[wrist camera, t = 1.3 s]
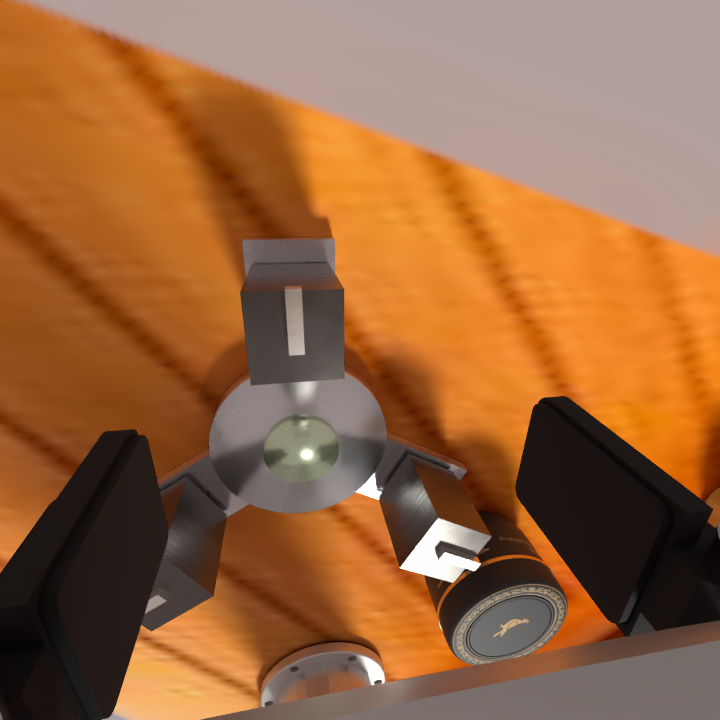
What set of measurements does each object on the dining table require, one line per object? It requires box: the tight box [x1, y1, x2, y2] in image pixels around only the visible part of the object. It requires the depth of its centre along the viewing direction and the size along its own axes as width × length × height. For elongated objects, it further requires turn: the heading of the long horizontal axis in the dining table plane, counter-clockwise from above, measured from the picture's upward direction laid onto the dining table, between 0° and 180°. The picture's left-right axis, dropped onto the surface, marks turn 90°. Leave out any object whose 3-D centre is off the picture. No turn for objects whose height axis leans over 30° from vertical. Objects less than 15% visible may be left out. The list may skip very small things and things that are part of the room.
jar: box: [425, 512, 568, 665], centre depth 34 cm, size 10×10×8 cm
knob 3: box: [378, 454, 492, 583], centre depth 28 cm, size 5×4×7 cm
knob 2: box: [240, 263, 345, 385], centre depth 21 cm, size 5×4×7 cm
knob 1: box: [141, 477, 227, 631], centre depth 25 cm, size 5×4×7 cm
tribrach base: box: [157, 237, 467, 517], centre depth 29 cm, size 26×22×3 cm
